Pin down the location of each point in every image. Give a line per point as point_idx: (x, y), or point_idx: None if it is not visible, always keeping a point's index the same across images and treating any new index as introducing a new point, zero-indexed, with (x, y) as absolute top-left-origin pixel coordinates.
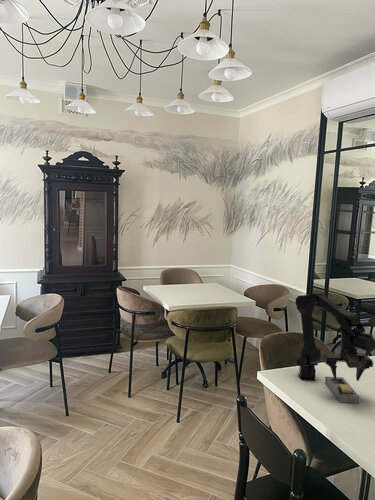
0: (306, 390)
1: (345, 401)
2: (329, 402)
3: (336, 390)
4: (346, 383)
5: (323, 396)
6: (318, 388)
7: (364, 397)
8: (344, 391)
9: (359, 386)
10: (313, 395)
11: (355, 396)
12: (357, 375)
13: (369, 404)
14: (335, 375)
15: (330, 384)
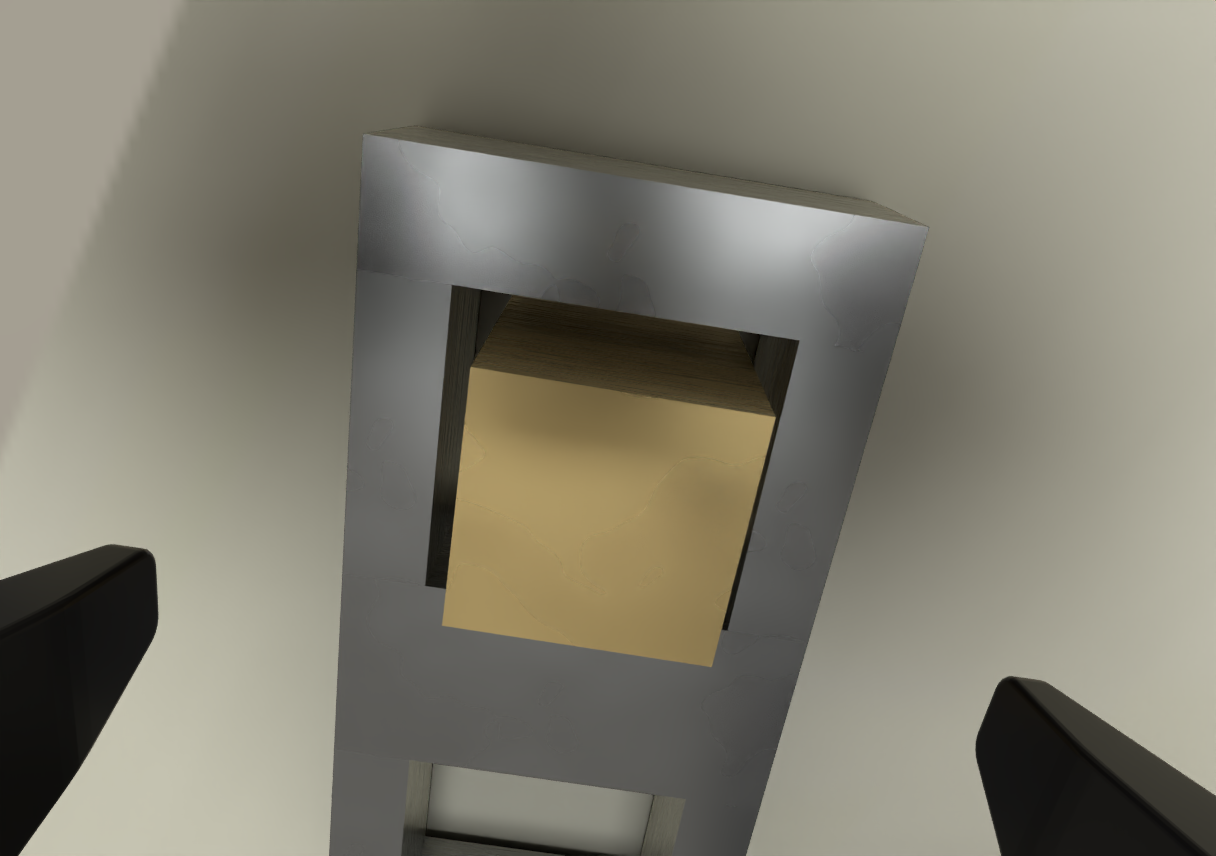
0: (1210, 726)
1: (729, 182)
2: (1070, 244)
3: (821, 505)
4: (372, 791)
5: (1025, 497)
6: (916, 776)
7: (152, 413)
8: (693, 377)
9: (80, 796)
10: (1212, 546)
11: (476, 149)
12: (4, 736)
13: (165, 104)
14: (1172, 805)
15: (760, 787)
